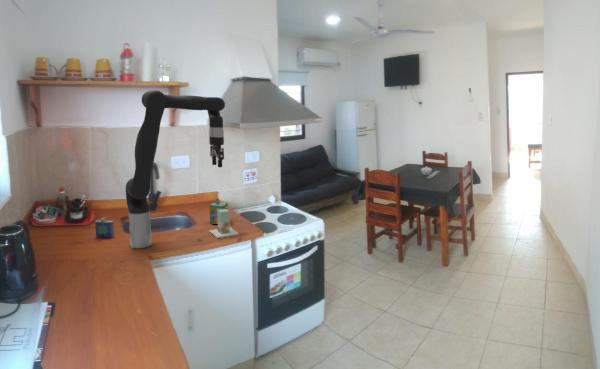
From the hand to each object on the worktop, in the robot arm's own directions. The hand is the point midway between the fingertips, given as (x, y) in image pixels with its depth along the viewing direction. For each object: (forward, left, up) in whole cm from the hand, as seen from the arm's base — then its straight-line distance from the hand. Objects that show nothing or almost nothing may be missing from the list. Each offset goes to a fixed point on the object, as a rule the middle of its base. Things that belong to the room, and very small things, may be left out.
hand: (217, 166), depth 197 cm
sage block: (0, -8, -29) cm, 30 cm away
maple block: (0, -8, -35) cm, 36 cm away
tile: (0, -8, -36) cm, 37 cm away
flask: (-55, +16, -36) cm, 68 cm away
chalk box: (+5, +12, -36) cm, 39 cm away
